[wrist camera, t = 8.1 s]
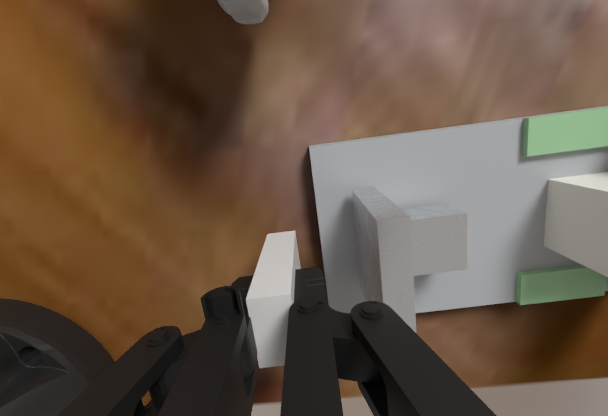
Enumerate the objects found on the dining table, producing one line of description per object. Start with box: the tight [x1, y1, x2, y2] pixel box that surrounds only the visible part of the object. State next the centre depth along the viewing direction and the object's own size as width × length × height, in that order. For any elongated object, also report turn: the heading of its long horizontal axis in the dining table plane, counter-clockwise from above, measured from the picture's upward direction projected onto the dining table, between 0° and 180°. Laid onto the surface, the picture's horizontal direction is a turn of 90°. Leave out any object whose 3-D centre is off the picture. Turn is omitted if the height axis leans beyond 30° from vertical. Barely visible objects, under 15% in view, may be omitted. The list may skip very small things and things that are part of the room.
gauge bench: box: [309, 106, 608, 313], centre depth 15 cm, size 19×11×8 cm, turn 97°
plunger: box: [352, 186, 467, 333], centre depth 15 cm, size 5×6×6 cm
